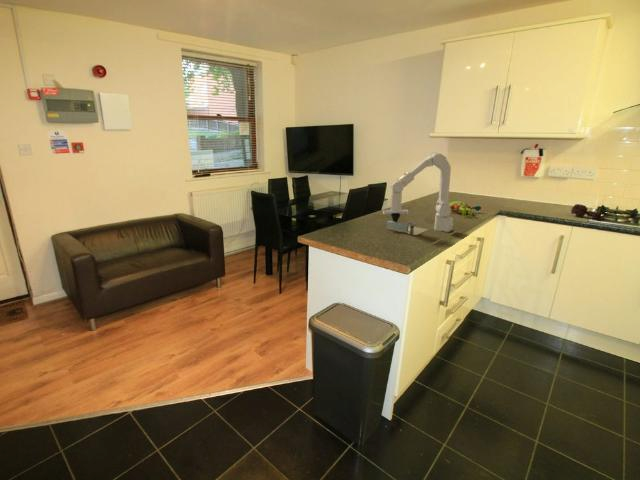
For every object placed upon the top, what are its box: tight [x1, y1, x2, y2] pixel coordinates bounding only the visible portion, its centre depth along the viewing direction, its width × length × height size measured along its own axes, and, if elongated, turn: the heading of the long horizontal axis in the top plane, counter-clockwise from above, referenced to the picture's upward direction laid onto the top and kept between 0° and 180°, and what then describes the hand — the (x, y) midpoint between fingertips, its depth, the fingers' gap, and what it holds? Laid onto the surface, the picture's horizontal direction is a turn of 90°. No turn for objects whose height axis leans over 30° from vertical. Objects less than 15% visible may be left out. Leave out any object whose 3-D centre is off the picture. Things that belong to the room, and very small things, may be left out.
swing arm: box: [386, 220, 417, 231], centre depth 189 cm, size 16×4×4 cm, turn 55°
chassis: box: [388, 226, 429, 236], centre depth 193 cm, size 18×15×5 cm
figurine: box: [570, 203, 606, 222], centre depth 224 cm, size 10×8×18 cm
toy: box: [449, 200, 482, 218], centre depth 239 cm, size 24×28×8 cm
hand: (394, 226), depth 195 cm, fingers closed
